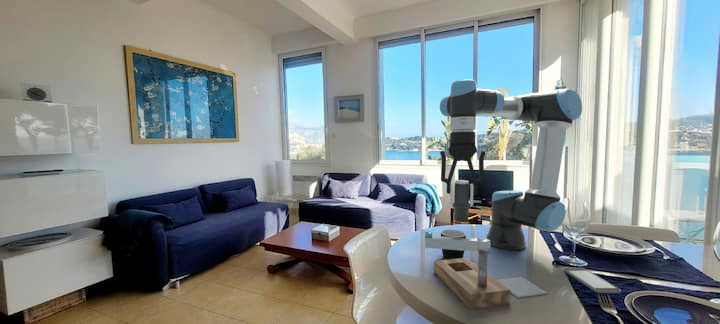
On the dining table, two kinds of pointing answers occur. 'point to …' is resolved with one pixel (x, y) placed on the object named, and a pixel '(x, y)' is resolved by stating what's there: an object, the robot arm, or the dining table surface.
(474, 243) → the crank
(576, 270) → the smartphone
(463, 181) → the plug
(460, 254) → the mug
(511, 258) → the dining table surface
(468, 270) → the socket block
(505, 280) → the mat
